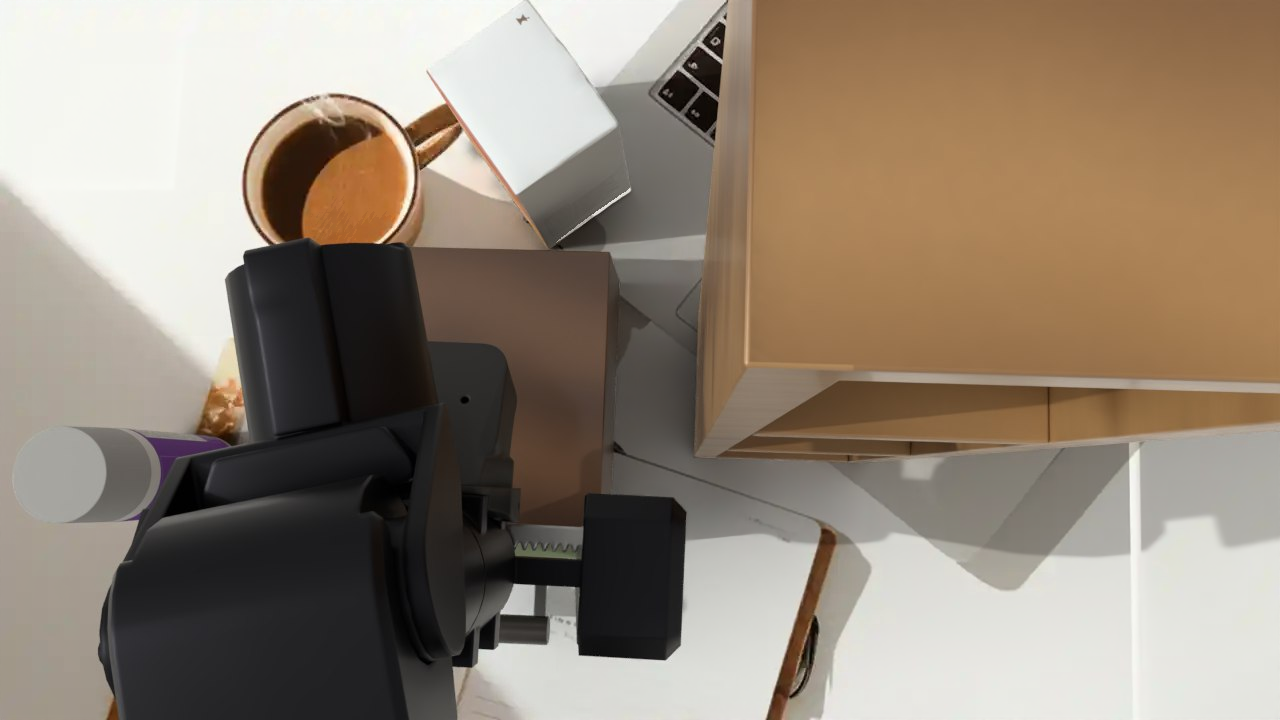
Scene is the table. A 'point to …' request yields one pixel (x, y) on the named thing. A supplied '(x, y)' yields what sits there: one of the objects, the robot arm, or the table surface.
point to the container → (98, 471)
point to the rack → (990, 227)
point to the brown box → (539, 359)
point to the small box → (535, 121)
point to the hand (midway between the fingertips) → (486, 552)
